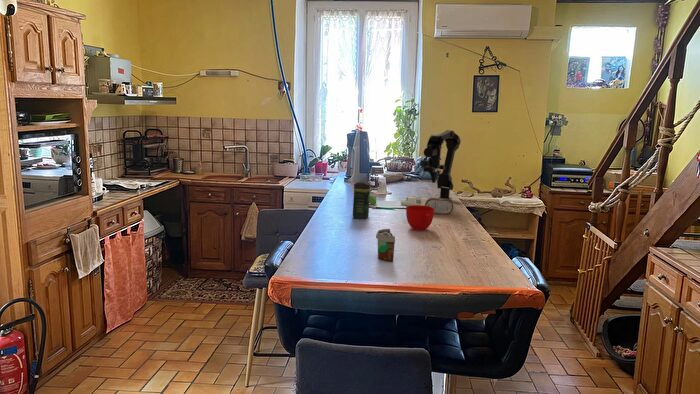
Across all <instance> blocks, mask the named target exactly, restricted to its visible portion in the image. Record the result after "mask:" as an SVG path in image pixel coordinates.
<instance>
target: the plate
mask: <svg viewBox="0 0 700 394" xmlns="http://www.w3.org/2000/svg"><path fill="white" fill-rule="evenodd" d="M410 197H415V198H416V201H419V203H420V202H421V199H422V198H423V196H422V197H421V196H415V195H412V196H410ZM425 198H426V199H429V198H427V197H425ZM406 199H408V197H406ZM417 203H418V202H417ZM420 204H421V203H420Z"/></svg>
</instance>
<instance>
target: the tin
mask: <svg viewBox="0 0 700 394" xmlns="http://www.w3.org/2000/svg"><path fill="white" fill-rule="evenodd" d="M425 206H429V207H432V208H434V215H435V214H436V215H449V214H451V213H452V212H453V210H454V203H453V201H452V199H445V198H438V197H430V198H429V199H428V200H427V201H426V203H425Z"/></svg>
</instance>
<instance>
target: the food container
mask: <svg viewBox="0 0 700 394" xmlns="http://www.w3.org/2000/svg"><path fill="white" fill-rule="evenodd" d="M375 238H376V240H377V259H378V260H380V261H382V262H387V263H393V262H394V258H395V257H394V254H395V243H396V236H394V235H393V233H392V232H391V228H383V229H379V230H377V232H376V236H375Z"/></svg>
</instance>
